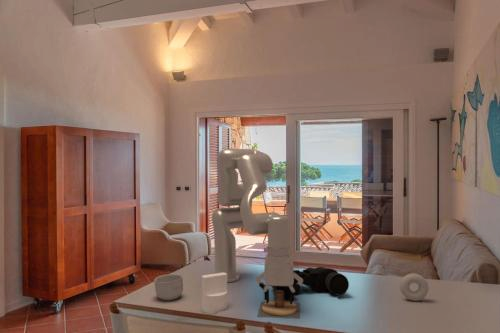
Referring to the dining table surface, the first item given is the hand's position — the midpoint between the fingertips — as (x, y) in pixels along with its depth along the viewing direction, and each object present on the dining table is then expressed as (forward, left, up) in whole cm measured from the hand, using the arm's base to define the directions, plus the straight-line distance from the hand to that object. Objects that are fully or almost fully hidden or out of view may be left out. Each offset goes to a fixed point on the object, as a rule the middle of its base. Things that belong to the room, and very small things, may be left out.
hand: (279, 302), depth 135 cm
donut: (-16, +49, -4) cm, 52 cm away
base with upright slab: (-1, -23, -4) cm, 23 cm away
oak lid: (0, 0, -3) cm, 3 cm away
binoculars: (-22, +9, -4) cm, 24 cm away
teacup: (-12, -43, -4) cm, 45 cm away
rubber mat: (0, 0, -3) cm, 3 cm away
